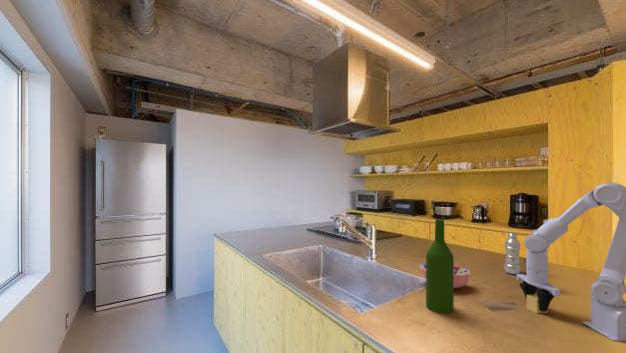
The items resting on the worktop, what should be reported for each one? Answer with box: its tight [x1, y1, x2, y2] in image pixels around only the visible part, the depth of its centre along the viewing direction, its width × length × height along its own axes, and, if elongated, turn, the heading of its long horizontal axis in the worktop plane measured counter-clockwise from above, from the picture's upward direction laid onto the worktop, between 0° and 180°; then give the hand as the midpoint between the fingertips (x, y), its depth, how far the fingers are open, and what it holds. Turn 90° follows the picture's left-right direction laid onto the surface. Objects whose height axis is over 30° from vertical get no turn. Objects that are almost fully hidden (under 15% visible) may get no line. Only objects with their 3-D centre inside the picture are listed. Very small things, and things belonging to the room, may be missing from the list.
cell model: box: [419, 262, 471, 289], centre depth 117 cm, size 17×20×11 cm
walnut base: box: [480, 301, 522, 313], centre depth 95 cm, size 12×12×1 cm
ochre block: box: [526, 293, 549, 314], centre depth 94 cm, size 4×4×6 cm
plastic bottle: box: [503, 231, 522, 275], centre depth 134 cm, size 6×7×20 cm
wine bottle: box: [425, 218, 455, 315], centre depth 97 cm, size 9×9×32 cm
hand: (536, 307), depth 94 cm, fingers open, 4 cm apart
